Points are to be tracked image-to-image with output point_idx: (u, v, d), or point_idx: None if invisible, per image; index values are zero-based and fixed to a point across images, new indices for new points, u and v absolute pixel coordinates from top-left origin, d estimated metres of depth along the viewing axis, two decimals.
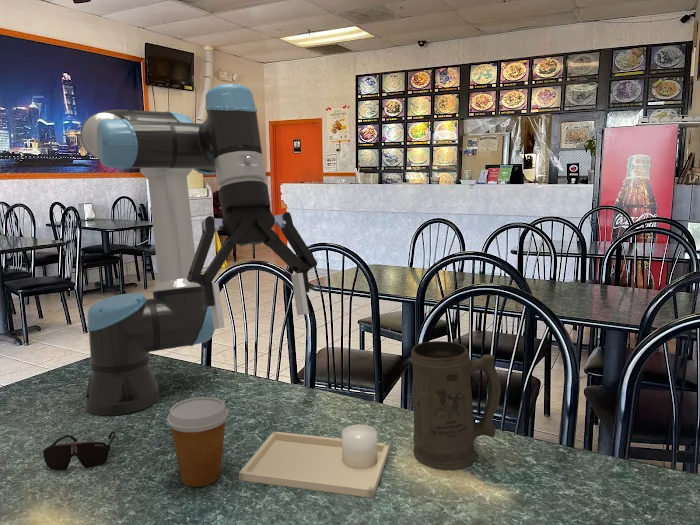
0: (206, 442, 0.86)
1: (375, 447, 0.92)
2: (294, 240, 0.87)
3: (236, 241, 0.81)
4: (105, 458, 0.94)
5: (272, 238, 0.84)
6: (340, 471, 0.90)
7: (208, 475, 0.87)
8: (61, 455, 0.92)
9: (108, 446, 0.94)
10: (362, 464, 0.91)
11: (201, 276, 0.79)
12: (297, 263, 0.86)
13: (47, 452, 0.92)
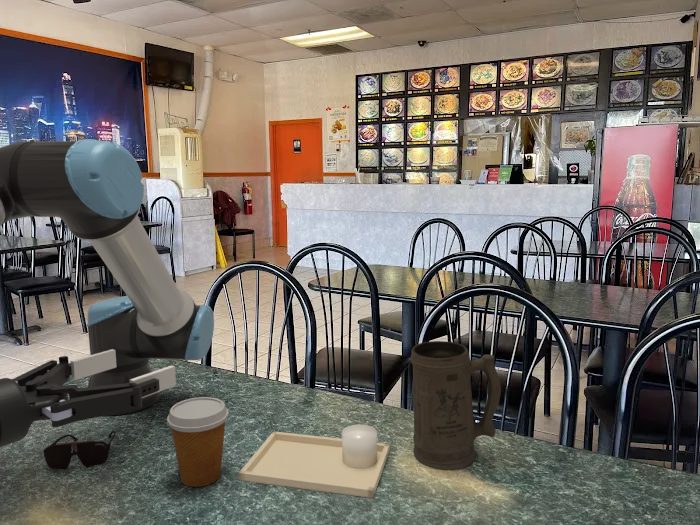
0: (206, 442, 0.86)
1: (375, 447, 0.92)
2: None
3: None
4: (105, 457, 0.94)
5: None
6: (340, 471, 0.90)
7: (208, 475, 0.87)
8: (61, 454, 0.92)
9: (108, 445, 0.94)
10: (362, 464, 0.91)
11: None
12: None
13: (47, 451, 0.92)
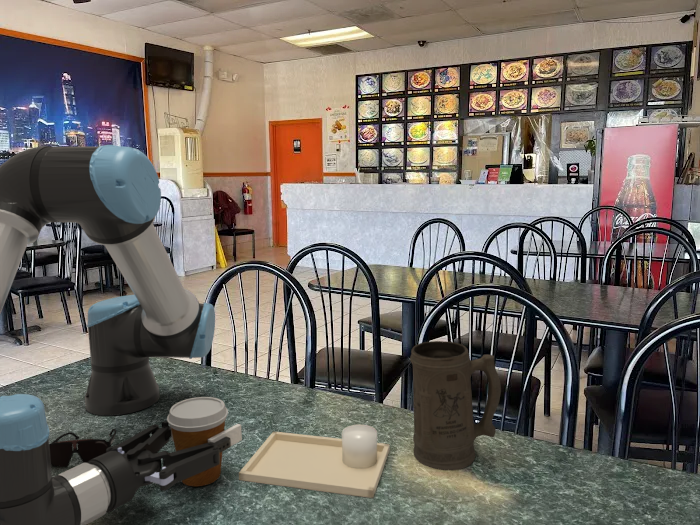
0: (206, 442, 0.86)
1: (375, 447, 0.92)
2: None
3: None
4: None
5: None
6: (340, 471, 0.90)
7: (208, 474, 0.87)
8: (62, 452, 0.93)
9: (109, 443, 0.95)
10: (362, 464, 0.91)
11: None
12: None
13: None
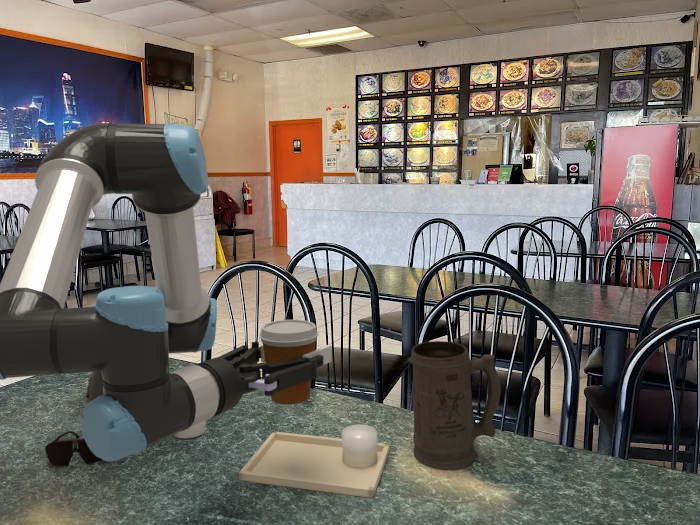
0: (300, 358, 0.85)
1: (375, 447, 0.92)
2: None
3: None
4: None
5: None
6: (340, 471, 0.90)
7: (300, 393, 0.87)
8: (63, 451, 0.93)
9: None
10: (362, 464, 0.91)
11: None
12: None
13: (49, 448, 0.94)
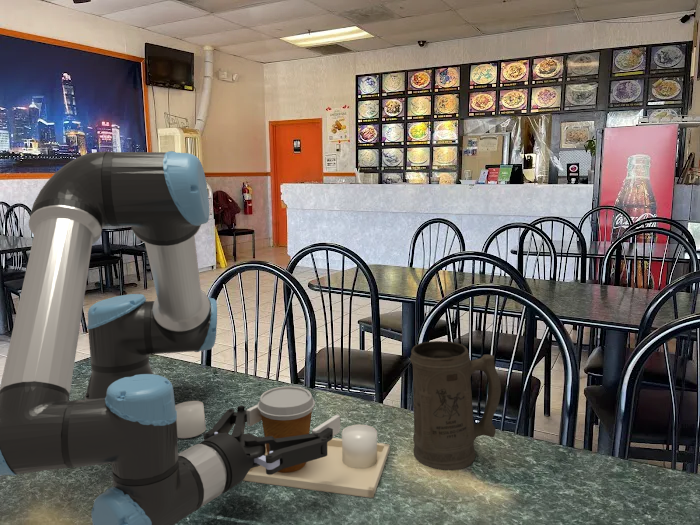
0: (297, 430, 0.88)
1: (375, 447, 0.92)
2: None
3: None
4: None
5: None
6: (340, 471, 0.90)
7: None
8: None
9: None
10: (362, 464, 0.91)
11: None
12: None
13: None
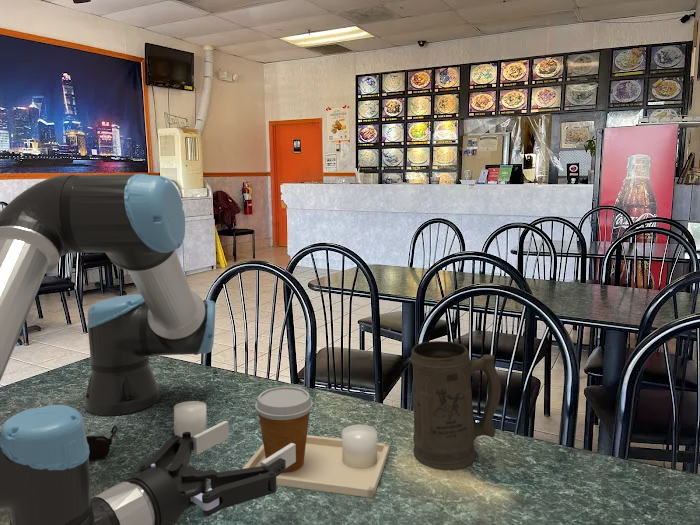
0: (297, 429, 0.89)
1: (375, 447, 0.92)
2: None
3: None
4: (106, 452, 0.96)
5: None
6: (340, 471, 0.90)
7: (296, 460, 0.90)
8: None
9: (109, 440, 0.96)
10: (362, 464, 0.91)
11: None
12: None
13: None
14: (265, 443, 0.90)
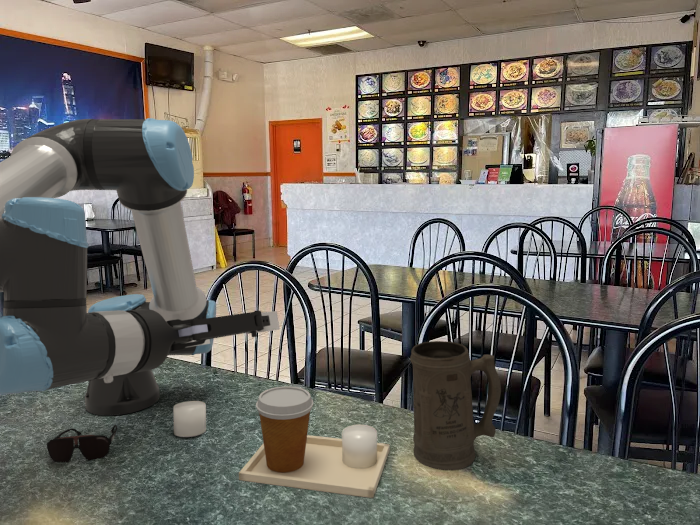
0: (298, 429, 0.89)
1: (375, 447, 0.92)
2: (223, 334, 0.70)
3: None
4: (107, 451, 0.97)
5: None
6: (340, 471, 0.90)
7: (297, 460, 0.90)
8: (64, 448, 0.94)
9: (109, 439, 0.97)
10: (362, 464, 0.91)
11: None
12: (241, 333, 0.73)
13: (50, 445, 0.95)
14: (265, 443, 0.90)
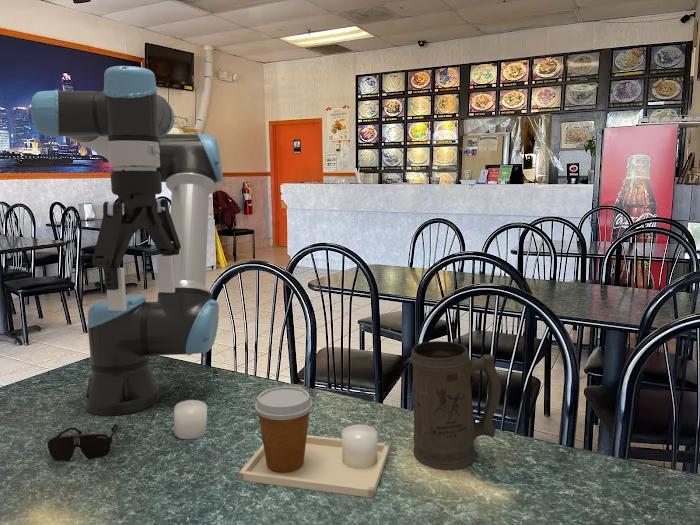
0: (297, 429, 0.89)
1: (375, 447, 0.92)
2: (168, 225, 0.95)
3: (137, 227, 0.85)
4: (107, 450, 0.97)
5: (158, 224, 0.91)
6: (340, 471, 0.90)
7: (297, 460, 0.90)
8: (65, 446, 0.95)
9: (110, 438, 0.97)
10: (362, 464, 0.91)
11: None
12: (170, 247, 0.95)
13: (51, 443, 0.95)
14: (265, 443, 0.90)
